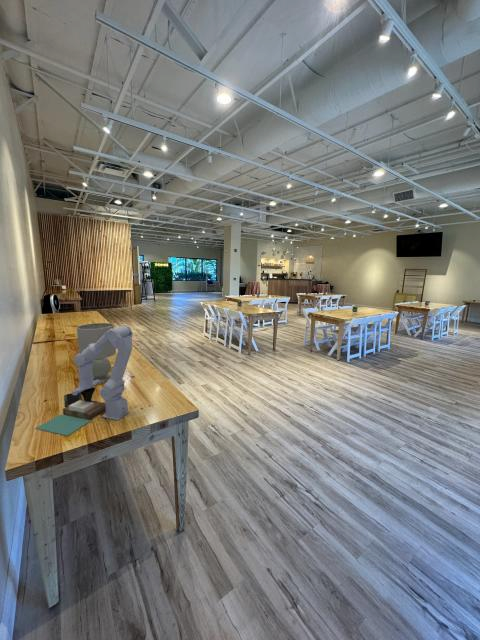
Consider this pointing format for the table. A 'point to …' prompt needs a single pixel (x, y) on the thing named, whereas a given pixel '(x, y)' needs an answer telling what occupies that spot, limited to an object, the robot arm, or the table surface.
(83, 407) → the white rectangular block
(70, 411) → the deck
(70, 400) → the phone
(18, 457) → the table surface
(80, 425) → the mat
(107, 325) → the lamp
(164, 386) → the table surface
